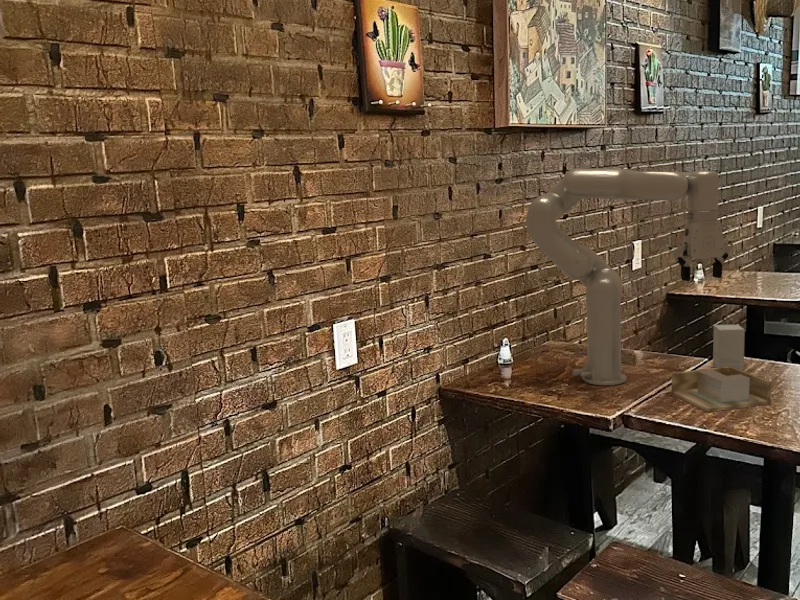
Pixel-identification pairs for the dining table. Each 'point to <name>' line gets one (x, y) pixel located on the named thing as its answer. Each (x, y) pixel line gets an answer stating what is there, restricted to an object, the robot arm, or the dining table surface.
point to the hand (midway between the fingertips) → (701, 278)
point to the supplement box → (728, 346)
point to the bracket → (723, 386)
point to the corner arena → (688, 391)
